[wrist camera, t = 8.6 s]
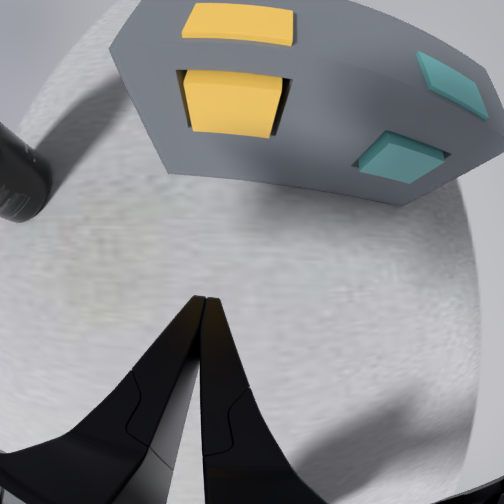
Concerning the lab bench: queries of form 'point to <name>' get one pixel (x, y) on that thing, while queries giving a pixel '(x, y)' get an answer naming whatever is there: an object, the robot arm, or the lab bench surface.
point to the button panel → (309, 92)
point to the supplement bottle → (21, 178)
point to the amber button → (232, 102)
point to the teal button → (399, 158)
